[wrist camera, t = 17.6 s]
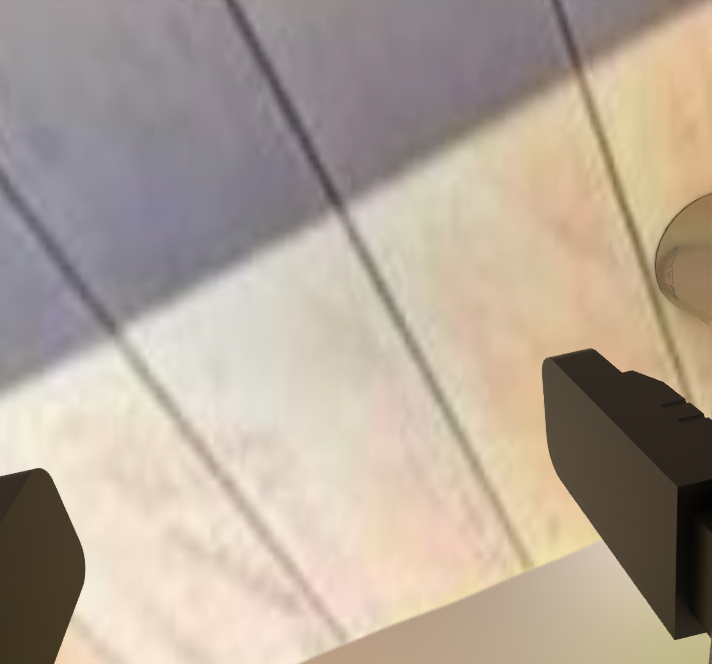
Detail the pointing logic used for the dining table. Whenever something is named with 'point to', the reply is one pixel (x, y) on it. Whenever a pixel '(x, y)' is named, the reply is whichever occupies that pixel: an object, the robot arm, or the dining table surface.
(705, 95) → the dining table surface
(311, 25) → the dining table surface
